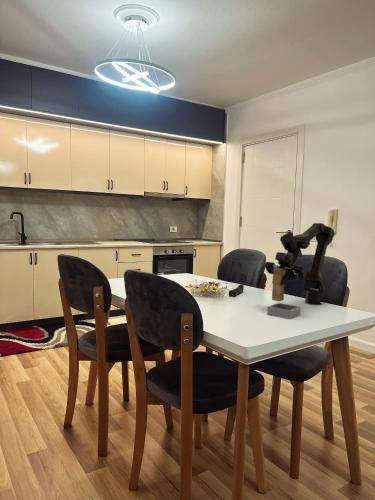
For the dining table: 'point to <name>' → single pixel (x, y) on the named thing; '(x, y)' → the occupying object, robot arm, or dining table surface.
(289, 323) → the dining table surface
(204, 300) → the dining table surface
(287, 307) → the tray
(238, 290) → the hand tool
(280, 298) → the brown wooden block
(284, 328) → the dining table surface
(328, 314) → the dining table surface
